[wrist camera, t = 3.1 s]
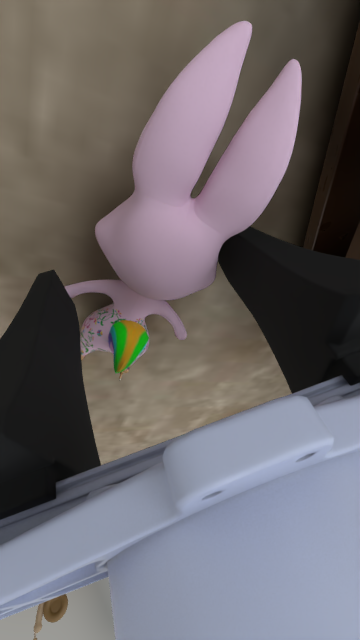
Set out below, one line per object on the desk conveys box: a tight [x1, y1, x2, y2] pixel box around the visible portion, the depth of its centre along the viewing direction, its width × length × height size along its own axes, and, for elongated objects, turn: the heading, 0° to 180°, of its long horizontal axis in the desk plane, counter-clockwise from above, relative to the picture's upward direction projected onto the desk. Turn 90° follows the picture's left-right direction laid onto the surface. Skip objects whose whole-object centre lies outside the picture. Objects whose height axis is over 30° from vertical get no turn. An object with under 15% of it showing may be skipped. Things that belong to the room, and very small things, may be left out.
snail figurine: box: [34, 594, 68, 640], centre depth 57 cm, size 5×6×12 cm
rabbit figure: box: [65, 21, 302, 381], centre depth 11 cm, size 6×6×15 cm
